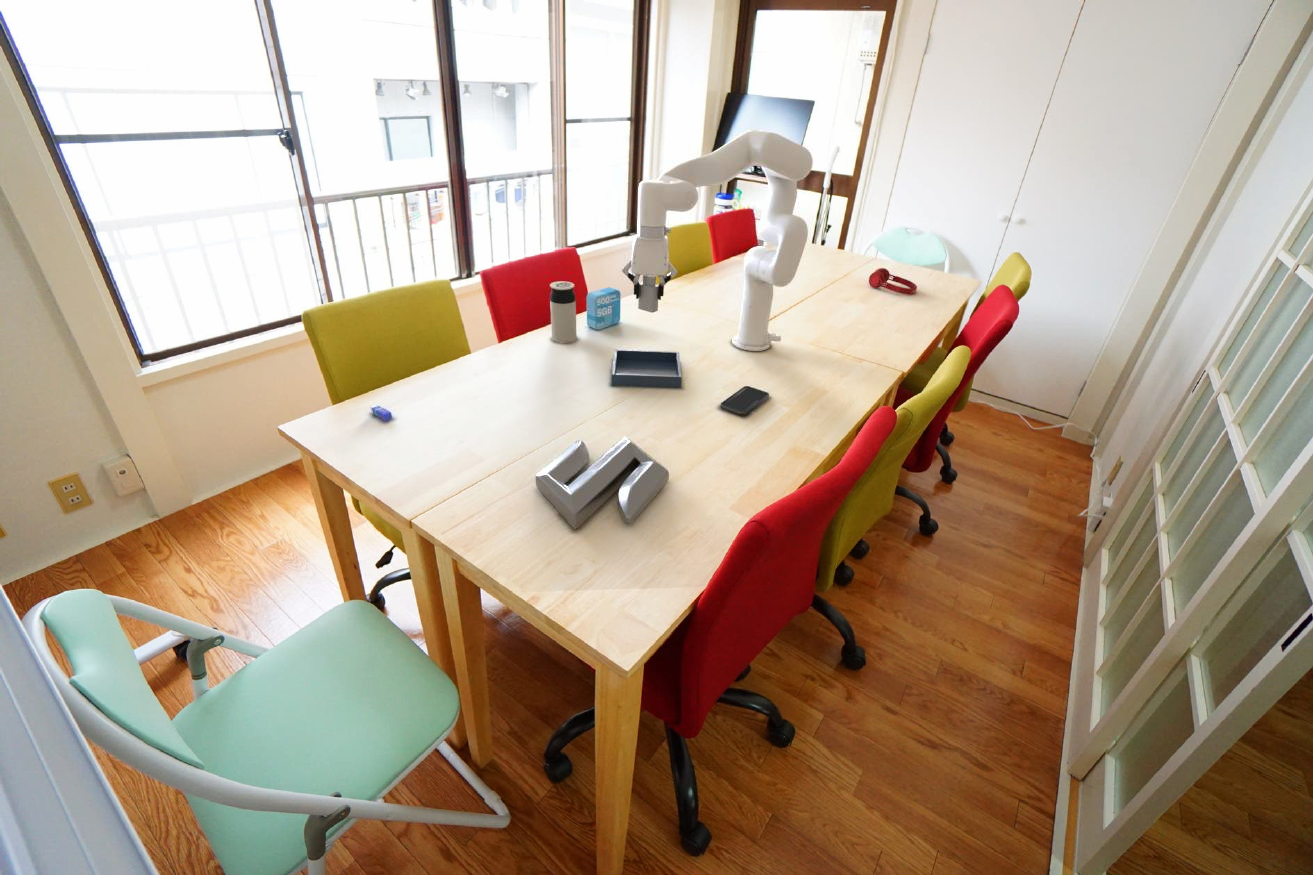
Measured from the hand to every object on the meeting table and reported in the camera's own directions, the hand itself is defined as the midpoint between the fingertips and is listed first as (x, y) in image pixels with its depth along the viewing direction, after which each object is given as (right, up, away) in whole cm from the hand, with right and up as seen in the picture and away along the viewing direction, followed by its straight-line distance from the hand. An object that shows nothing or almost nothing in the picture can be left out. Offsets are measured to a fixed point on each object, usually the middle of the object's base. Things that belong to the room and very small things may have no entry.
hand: (648, 297), depth 163 cm
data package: (-16, 0, +39) cm, 42 cm away
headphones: (+107, +26, +94) cm, 145 cm away
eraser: (-65, -34, -21) cm, 77 cm away
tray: (-1, -21, +7) cm, 22 cm away
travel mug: (-28, -7, +27) cm, 40 cm away
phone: (+26, -30, -5) cm, 41 cm away
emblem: (-9, -50, -41) cm, 65 cm away
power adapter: (0, -3, +2) cm, 4 cm away
